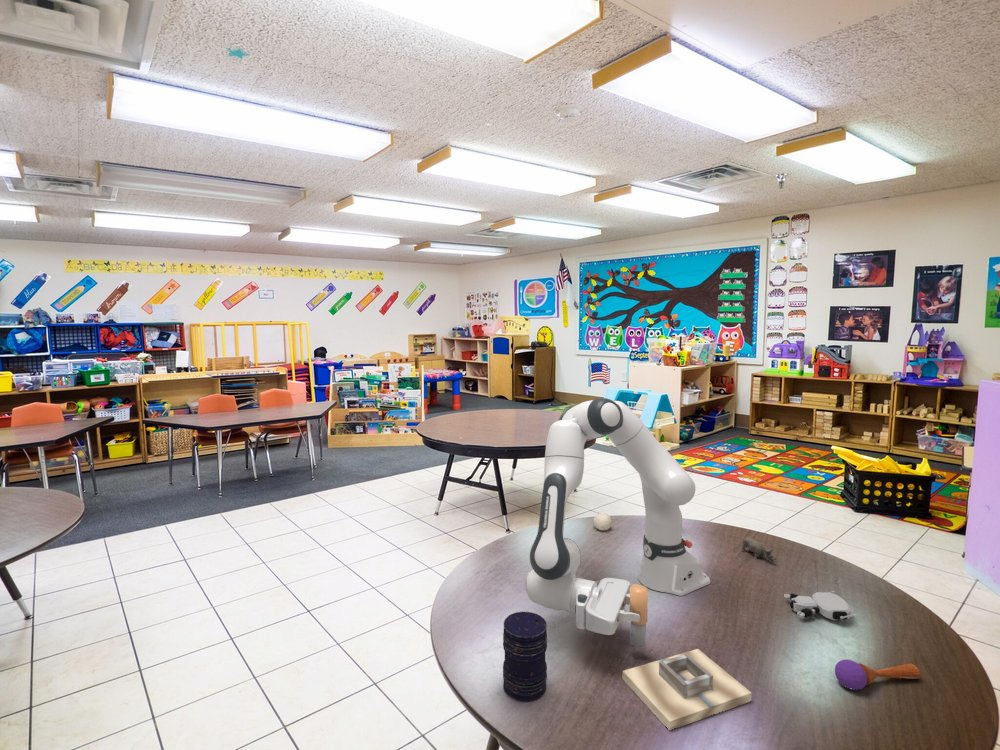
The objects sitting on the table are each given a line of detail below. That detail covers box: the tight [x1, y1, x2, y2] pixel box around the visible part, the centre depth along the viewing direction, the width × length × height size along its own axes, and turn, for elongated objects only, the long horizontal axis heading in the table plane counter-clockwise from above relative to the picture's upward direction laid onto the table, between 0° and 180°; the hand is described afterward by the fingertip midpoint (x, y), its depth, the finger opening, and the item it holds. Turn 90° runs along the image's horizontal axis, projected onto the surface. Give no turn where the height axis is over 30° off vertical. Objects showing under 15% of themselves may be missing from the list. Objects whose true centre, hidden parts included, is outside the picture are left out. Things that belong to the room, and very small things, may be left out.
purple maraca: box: [834, 659, 921, 691], centre depth 115 cm, size 6×6×20 cm
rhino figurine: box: [740, 536, 777, 563], centre depth 177 cm, size 4×14×6 cm, turn 20°
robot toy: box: [783, 591, 858, 621], centre depth 143 cm, size 12×4×15 cm
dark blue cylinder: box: [502, 611, 548, 703], centre depth 113 cm, size 10×10×15 cm
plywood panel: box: [621, 648, 752, 731], centre depth 112 cm, size 22×16×5 cm
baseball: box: [592, 512, 612, 531], centre depth 201 cm, size 7×7×7 cm
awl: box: [629, 583, 649, 648], centre depth 123 cm, size 4×4×14 cm
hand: (642, 611), depth 123 cm, fingers closed on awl, 4 cm apart
